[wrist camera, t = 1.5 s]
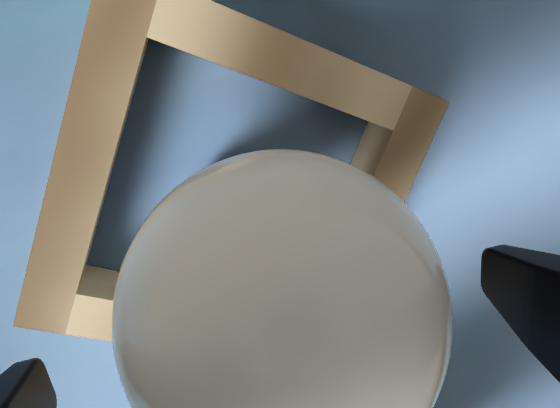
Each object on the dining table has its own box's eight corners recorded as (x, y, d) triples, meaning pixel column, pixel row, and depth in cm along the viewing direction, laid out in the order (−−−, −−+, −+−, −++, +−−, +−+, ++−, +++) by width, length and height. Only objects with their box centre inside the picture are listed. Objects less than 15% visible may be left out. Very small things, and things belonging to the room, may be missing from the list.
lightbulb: (286, 75, 15) (523, 136, 5) (332, 233, 18) (555, 486, 8) (105, 139, 14) (-34, 356, 4) (179, 295, 17) (199, 662, 7)
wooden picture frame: (418, 95, 17) (449, 101, 15) (310, 343, 19) (326, 375, 17) (111, -34, 13) (102, -46, 11) (31, 293, 16) (13, 326, 14)
